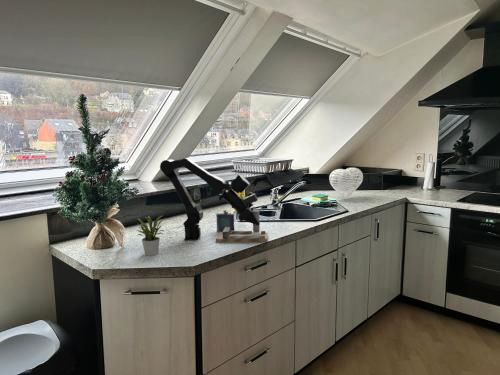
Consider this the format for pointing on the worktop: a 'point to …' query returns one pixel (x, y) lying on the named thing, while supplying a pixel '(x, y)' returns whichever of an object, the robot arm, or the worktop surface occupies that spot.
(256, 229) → the handle
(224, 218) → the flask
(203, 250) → the worktop surface
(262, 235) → the bench
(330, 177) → the heart
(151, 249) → the house plant
